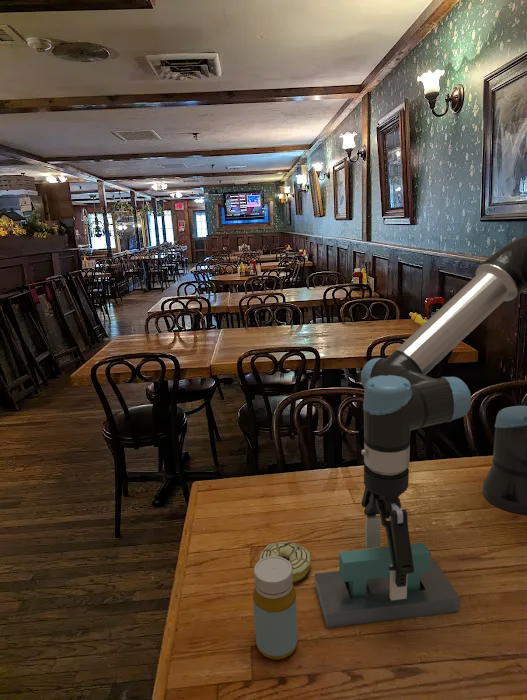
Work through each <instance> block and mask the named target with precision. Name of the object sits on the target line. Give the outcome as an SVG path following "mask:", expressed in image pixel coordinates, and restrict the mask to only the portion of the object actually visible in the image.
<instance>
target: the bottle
mask: <svg viewBox="0 0 527 700" xmlns="http://www.w3.org/2000/svg"><path fill="white" fill-rule="evenodd" d="M253 574H254V575H253V576H254V588H253V592H252V600H253V601H252V602H253V604H252V605H253V615H254V617H253V618H254V630H255V643H256V648H257V650H258V652H259V653H260V654H262V656H264V657H266V658H268V659H270V660H277V661H279V660H283V659H286V658H287V657H289V656H291V655H292V654H293V653H294V652H295V651H296V649H297V646H298V639H299V638H298V637H299V636H298V614H297V610H298V609H297V594H296V593H297V591H296V588H295V585H294V583H293V575H292V566H291V564H290V562H289V561H288V560H286V559H284V558H282V557H278V556H269V557H265V558H263V559H261V560H258V561H257V562H256V564H255V565H254V568H253Z"/></svg>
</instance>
